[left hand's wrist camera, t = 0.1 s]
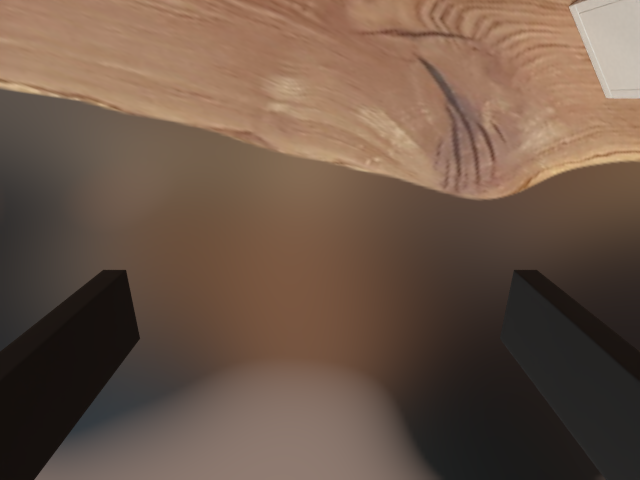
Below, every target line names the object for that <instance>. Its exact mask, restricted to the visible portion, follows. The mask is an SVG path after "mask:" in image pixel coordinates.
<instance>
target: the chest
mask: <svg viewBox="0 0 640 480" xmlns="http://www.w3.org/2000/svg"><path fill="white" fill-rule="evenodd" d="M569 8H570V11H571V13H572V16H573V18H574V20H575V23H576V25H577V28H578V30H579V33H580V35H581V38H582V40H583V42H584V45H585V47H586V50H587V52H588V55H589V57H590V60H591V62H592V64H593V67H594V69H595V72H596V74H597V77H598V79H599V82H600V84H601V86H602V89H603V91H604V94H605V96H606V98H640V0H577V1H576V2H575V3H573V4H572V5H570V6H569Z"/></svg>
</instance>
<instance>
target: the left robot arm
mask: <svg viewBox="0 0 640 480" xmlns="http://www.w3.org/2000/svg"><path fill="white" fill-rule="evenodd" d="M139 339H140V337H139V332H138V327H137V322H136V317H135V312H134V307H133V302H132V297H131V292H130V288H129V283H128V278H127V273H126V270H103V271H101V272H100V273H99V274H98V275H96V276H95V277H94V278H93V279H91V280H90V281H89V282H88V283H86V284H85V285H84V286H83V287H81V288H80V289H79V290H77V291H76V292H75V293H74V294H72V295H71V296H70V297H69V298H67V299H66V300H65V301H64V302H62V303H61V304H60V305H59V306H57V307H56V308H55V309H54V310H52V311H51V312H50V313H48V314H47V315H46V316H45V317H43V318H42V319H41V320H40V321H38V322H37V323H36V324H35V325H33V326H32V327H31V328H30V329H28V330H27V331H26V332H25V333H23V334H22V335H21V336H19V337H18V338H17V339H16V340H14V341H13V342H12V343H11V344H9V345H8V346H7V347H6V348H4V349H3V350H2V351H0V480H34V479H35V478H36V477H37V475H38V474H39V473H40V471H41V470H42V469H43V467H44V466H45V465H46V463H47V462H48V461H49V459H50V458H51V457H52V455H53V454H54V453H55V451H56V450H57V449H58V447H59V446H60V445H61V443H62V442H63V441H64V439H65V438H66V437H67V435H68V434H69V433H70V431H71V430H72V429H73V427H74V426H75V424H76V423H77V422H78V421H79V419H80V418H81V417H82V415H83V414H84V412H85V411H86V410H87V408H88V407H89V406H90V405H91V403H92V402H93V401H94V399H95V398H96V396H97V395H98V394H99V392H100V391H101V390H102V389H103V387H104V386H105V384H106V383H107V382H108V380H109V379H110V378H111V377H112V375H113V374H114V372H115V371H116V370H117V368H118V367H119V366H120V364H121V363H122V362H123V360H124V359H125V358H126V356H127V355H128V354H129V352H130V351H131V350H132V348H133V347H134V346H135V344H136V343H137V342H138V340H139ZM500 339H501V340H502V342H503V343H504V344H505V346H506V347H507V348H508V350H509V351H510V352H511V354H512V355H513V356H514V358H515V359H516V360H517V362H518V363H519V365H520V366H521V367H522V368H523V370H524V371H525V373H526V374H527V375H528V377H529V378H530V379H531V380H532V382H533V383H534V384H535V386H536V387H537V389H538V390H539V391H540V392H541V394H542V395H543V396H544V398H545V399H546V401H547V402H548V403H549V405H550V406H551V407H552V409H553V410H554V411H555V413H556V414H557V415H558V417H559V418H560V419H561V421H562V422H563V423H564V425H565V426H566V427H567V429H568V430H569V431H570V433H571V434H572V435H573V437H574V438H575V439H576V441H577V442H578V443H579V445H580V446H581V447H582V449H583V450H584V451H585V453H586V454H587V455H588V457H589V458H590V459H591V460H592V462H593V463H594V465H595V466H596V467H597V469H598V470H599V471H600V473H601V474H602V475H603V477H604V478H605V479H606V480H640V350H637V349H636V348H634V347H633V346H632V345H631V344H629V343H628V342H627V341H625V340H624V339H623V338H622V337H621V336H619V335H618V334H617V333H615V332H614V331H613V330H612V329H610V328H609V327H608V326H607V325H605V324H604V323H603V322H602V321H600V320H599V319H598V318H597V317H595V316H594V315H593V314H592V313H590V312H589V311H588V310H586V309H585V308H584V307H583V306H581V305H580V304H579V303H578V302H576V301H575V300H574V299H573V298H571V297H570V296H569V295H568V294H566V293H565V292H564V291H563V290H561V289H560V288H559V287H557V286H556V285H555V284H554V283H552V282H551V281H550V280H549V279H547V278H546V277H545V276H544V275H542V274H541V273H540V272H539V271H537V270H514V273H513V278H512V283H511V287H510V292H509V297H508V302H507V307H506V312H505V317H504V322H503V327H502V332H501V337H500Z"/></svg>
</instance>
